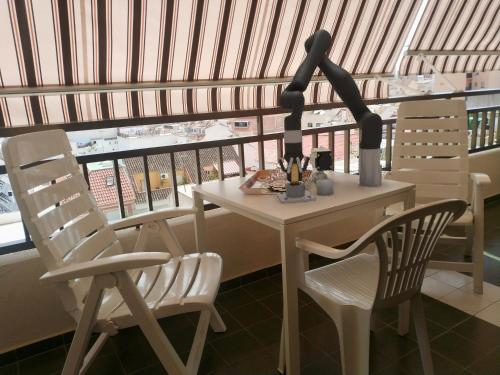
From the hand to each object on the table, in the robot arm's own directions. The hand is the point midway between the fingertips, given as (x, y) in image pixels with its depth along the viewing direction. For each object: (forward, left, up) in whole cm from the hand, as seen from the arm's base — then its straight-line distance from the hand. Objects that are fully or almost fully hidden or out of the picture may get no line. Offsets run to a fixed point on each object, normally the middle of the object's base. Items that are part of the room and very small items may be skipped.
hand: (294, 180), depth 161 cm
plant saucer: (0, -19, -8) cm, 20 cm away
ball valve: (-19, -28, -8) cm, 35 cm away
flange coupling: (0, 0, -7) cm, 7 cm away
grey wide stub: (-14, -3, -8) cm, 16 cm away
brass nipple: (0, 0, -4) cm, 4 cm away
